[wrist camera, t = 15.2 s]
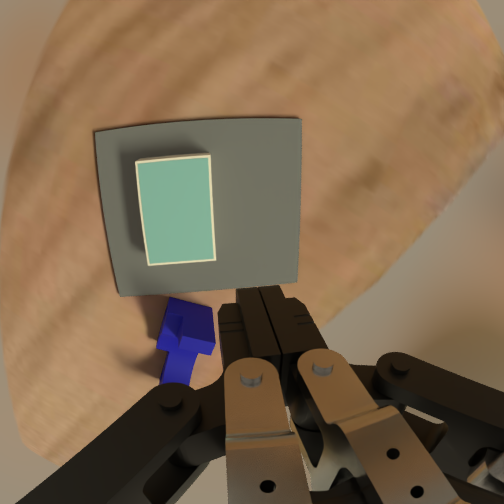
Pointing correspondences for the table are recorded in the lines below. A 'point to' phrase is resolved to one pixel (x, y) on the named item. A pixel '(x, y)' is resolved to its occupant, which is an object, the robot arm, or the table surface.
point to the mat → (224, 202)
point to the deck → (176, 208)
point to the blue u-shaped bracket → (184, 338)
